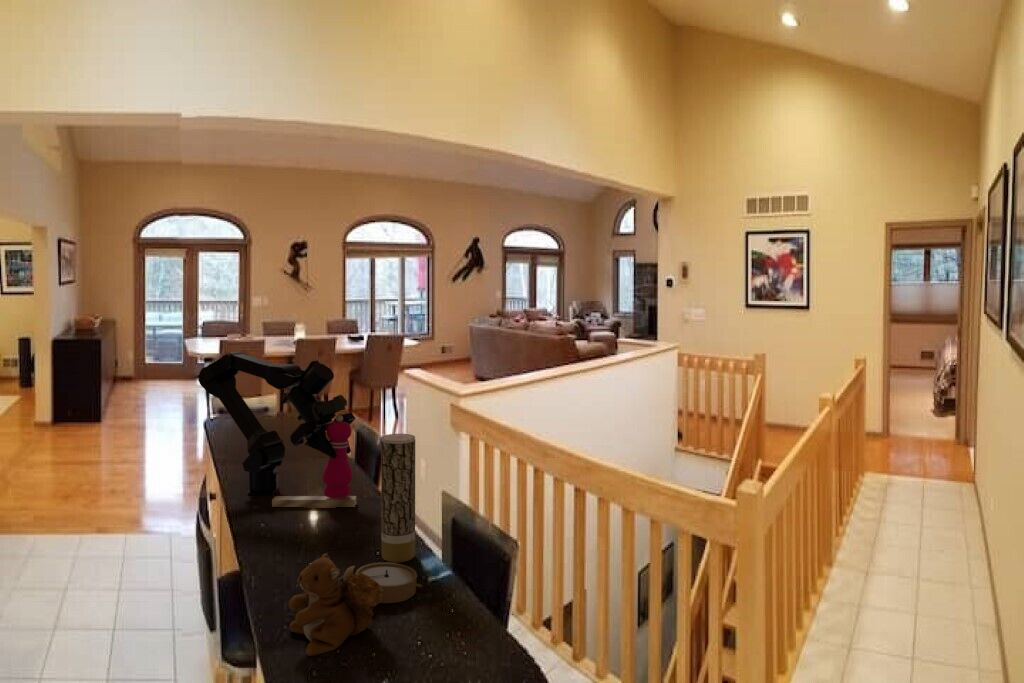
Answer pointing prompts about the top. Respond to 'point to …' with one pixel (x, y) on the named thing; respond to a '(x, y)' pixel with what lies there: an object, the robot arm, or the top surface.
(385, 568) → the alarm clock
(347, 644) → the top surface
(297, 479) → the top surface
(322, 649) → the stuffed squirrel
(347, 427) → the pepper mill
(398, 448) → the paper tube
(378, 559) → the top surface
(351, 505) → the flat beige strip
